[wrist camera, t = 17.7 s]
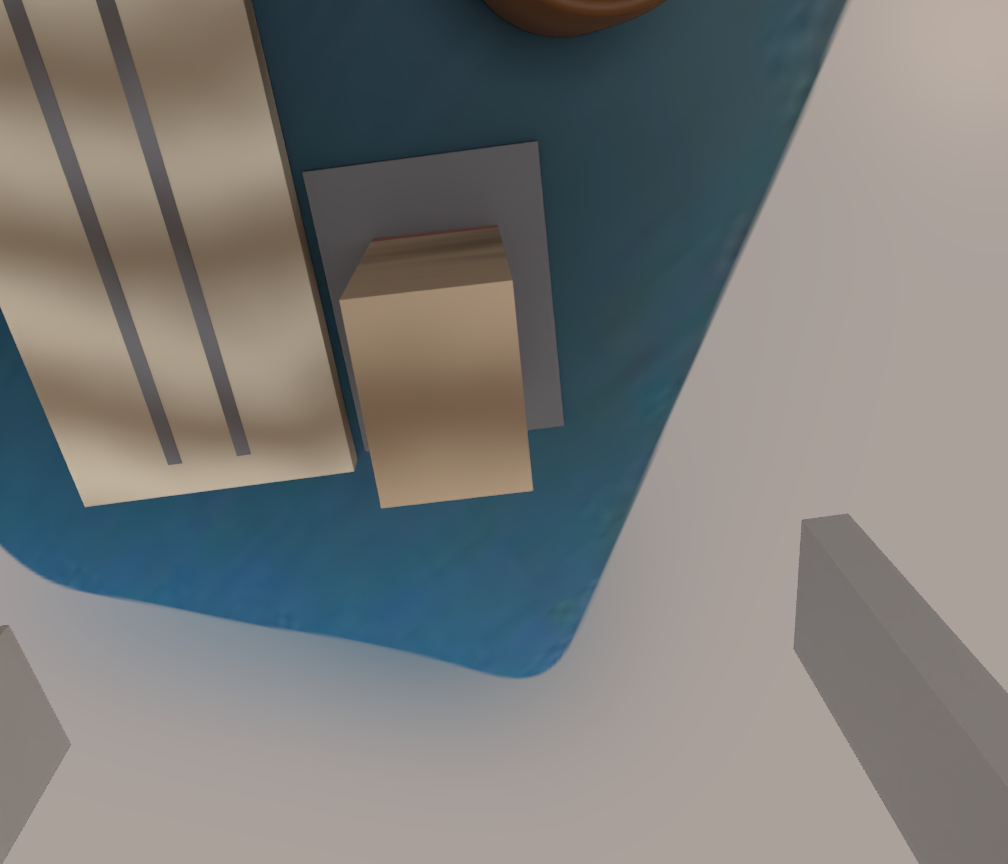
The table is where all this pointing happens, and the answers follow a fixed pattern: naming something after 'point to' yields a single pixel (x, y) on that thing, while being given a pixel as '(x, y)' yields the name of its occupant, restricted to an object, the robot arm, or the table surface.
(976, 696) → the robot arm
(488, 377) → the block
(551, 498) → the table surface
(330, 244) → the mat
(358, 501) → the table surface
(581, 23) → the mug
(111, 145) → the board
